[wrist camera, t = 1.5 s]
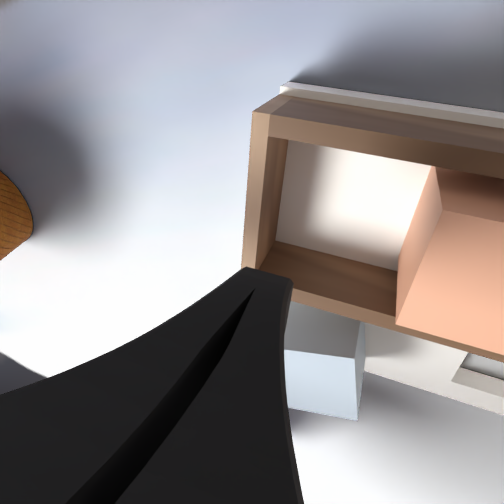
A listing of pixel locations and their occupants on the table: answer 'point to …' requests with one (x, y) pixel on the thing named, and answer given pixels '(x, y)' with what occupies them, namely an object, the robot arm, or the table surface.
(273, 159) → the walnut cubby
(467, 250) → the terracotta cube
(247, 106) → the table surface
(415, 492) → the table surface
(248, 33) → the table surface
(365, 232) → the deck
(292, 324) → the white block
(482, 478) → the table surface
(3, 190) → the disposable coffee cup
